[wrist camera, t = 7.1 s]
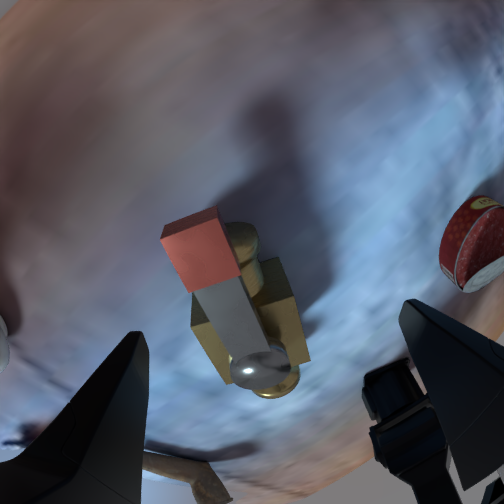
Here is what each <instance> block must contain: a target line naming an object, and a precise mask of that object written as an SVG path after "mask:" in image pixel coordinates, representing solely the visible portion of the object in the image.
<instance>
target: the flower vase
mask: <svg viewBox="0 0 504 504" xmlns="http://www.w3.org/2000/svg"><path fill="white" fill-rule="evenodd" d="M7 335H8V331H7V326H6V324H5V322H4V320H3V318H2V317H1V315H0V373H2V372H3V371H4V369H5V368H6V367H7V365H8V363H9V358H10V350H9V345H8V341H7Z"/></svg>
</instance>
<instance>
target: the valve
mask: <svg viewBox="0 0 504 504" xmlns="http://www.w3.org/2000/svg"><path fill="white" fill-rule="evenodd" d="M225 227H226V229H227V232H228V234H229V236H230V239H231V241H232V244H233V246H234V249H235V251H236V253H237V256H238V258H239V264H240V270H241V276H242V278H243V280H244V283H245V285H246V287H247V290H248V292H249V294H250V296H251V299H252V301H253V303H254V306H255V308H256V310H257V313H258V315H259V317H260V320H261V322H262V324H263V326H264V329H265V331H266V333H267V336H268V337H273V338H276V339H278V340H280V341H281V342H282V343H283V344H284V345H285V347H286V351H287V354H288V358H289V361H290V365H291V371H290V373H289V375H288V377H287V378H286V379H285V380H284V381H282V382H281V383H279V384H277V385H275V386H273V387H270V388H267V389H261V390H252V391H253V393H255V394H256V395H257V396H259V397H262V398H266V399H275V398H279V397H282V396H285V395H287V394H288V393H290V392H291V391H292V390H293V389H294V388H295V387H296V386H297V384H298V382H299V380H300V368H299V364H303V363H306V362H309V361H311V360H310V356H309V352H308V348H307V344H306V340H305V336H304V332H303V329H302V325H301V321H300V317H299V313H298V309H297V306H296V302H295V298H294V295H293V292H292V290H291V287H290V285H289V282H288V280H287V277H286V275H285V272H284V269H283V267H282V264H281V262H280V259H279V257H277V258H274V259H270V260H267V261H264V262H261V263H259V261H258V258H257V255H258V254H259V252H260V249H261V243H260V240H259V237H258V234H257V231H256V228H255V227H254V226H253V225H251V224H249V223H245V222H233V223H226V224H225ZM191 329H192V331H193V332H194V334H195V336H196V337H197V339H198V341H199V342H200V344H201V346H202V347H203V349H204V350H205V352H206V354H207V355H208V357H209V359H210V360H211V362H212V363H213V365H214V366H215V368H216V370H217V371H218V373H219V374H220V376H221V377H222V379H223V380H224V382H225V383H226V385H227V384H232V383H234V382H233V381H232V379H231V376H230V366H229V353H228V351H227V349H226V348H225V346H224V344H223V343H222V341H221V339H220V338H219V336H218V334H217V333H216V331H215V329H214V328H213V326H212V324H211V322H210V321H209V319H208V317H207V316H206V314H205V312H204V310H203V309H202V307H201V305H200V303H199V301H198V300H197V298H196V296H195V294H194V292H192V308H191Z"/></svg>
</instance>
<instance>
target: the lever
mask: <svg viewBox="0 0 504 504" xmlns="http://www.w3.org/2000/svg"><path fill="white" fill-rule="evenodd" d="M160 241H161V243H162V245H163V246H164V248H165V250H166V252H167V254H168V256H169V258H170V260H171V262H172V263H173V265H174V267H175V269H176V271H177V273H178V274H179V276H180V278H181V280H182V282H183V284H184V285H185V287H186V289H187V291H188V292H189V293H190V292H194V294H195V296H196V298H197V300H198V301H199V303H200V305H201V307H202V309H203V310H204V312H205V314H206V316H207V317H208V319H209V321H210V322H211V324H212V326H213V328H214V329H215V331H216V333H217V334H218V336H219V338H220V339H221V341H222V343H223V344H224V346H225V348H226V349H227V351H228V353H229V366H230V376H231V379H232V381H233V382H234V383H235V384H236V385H238V386H239V387H242V388H245V389H250V390H261V389H267V388H270V387H273V386H275V385H277V384H279V383H281V382H282V381H284V380H285V379H286V378H287V377H288V375H289V373H290V371H291V365H290V361H289V358H288V354H287V351H286V347H285V345H284V344H283V343H282V342H281V341H280V340H278V339H276V338H273V337H268V336H267V333H266V331H265V329H264V326H263V324H262V322H261V320H260V317H259V315H258V313H257V310H256V308H255V306H254V303H253V301H252V299H251V296H250V294H249V292H248V290H247V287H246V285H245V283H244V280H243V278H242V276H241V270H240V264H239V258H238V256H237V253H236V251H235V249H234V246H233V244H232V241H231V239H230V236H229V234H228V232H227V229H226V227H225V224H224V222H223V219H222V217H221V215H220V212H219V210H218V207H217V205H216V206H213V207H211V208H208V209H205V210H203V211H200V212H197V213H195V214H192V215H190V216H187V217H184V218H182V219H179V220H177V221H174V222H172V223H169V224H167V225H165V226H164V229H163V232H162V235H161V238H160Z"/></svg>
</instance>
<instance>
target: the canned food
mask: <svg viewBox="0 0 504 504" xmlns="http://www.w3.org/2000/svg"><path fill="white" fill-rule="evenodd" d="M439 263H440V267H441V270H442V271H443V273H444V274H445V275H446V276H447V277H448V278H449V279H450V280H451V281H452V282H453V283H454V284H455V285H456V286H457V287H458V288H459V289H460V290H461V291H463V292H466V293H471V292H475V291H478V290H480V289H481V288H483V287H484V286H486V285H487V284H489V283H490V282H491V281H492V280H493V279H495V278H496V277H498V276H499V275H500V274H501V273H502V272H503V271H504V206H503V205H501V204H499V203H498V202H496V201H494V200H492V199H491V198H489V197H487V196H484V195H478V196H475V197H472V198H470V199H469V200H467V201H466V202H465V203H464V204H462V205H461V206H460V207H459V209H458V210H457V211H456V212H455V213H454V215H453V216H452V218H451V220H450V221H449V223H448V225H447V227H446V229H445V231H444V234H443V237H442V240H441V244H440V249H439Z"/></svg>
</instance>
